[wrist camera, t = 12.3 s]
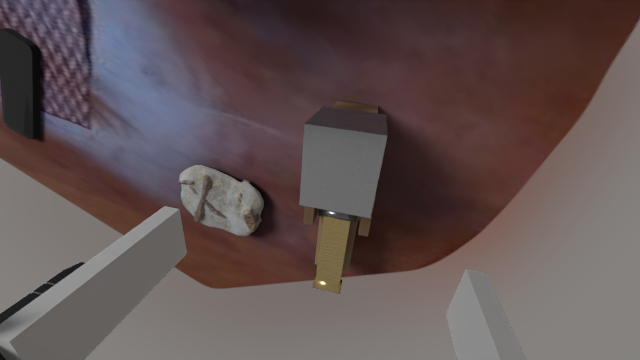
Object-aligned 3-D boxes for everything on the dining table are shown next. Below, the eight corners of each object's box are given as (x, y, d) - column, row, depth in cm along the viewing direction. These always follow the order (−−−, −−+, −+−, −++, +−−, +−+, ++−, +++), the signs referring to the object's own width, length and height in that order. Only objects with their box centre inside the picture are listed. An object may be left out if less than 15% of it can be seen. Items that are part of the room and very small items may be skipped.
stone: (187, 207, 41) (172, 219, 38) (188, 154, 37) (172, 163, 34) (260, 233, 40) (251, 248, 37) (271, 182, 36) (261, 194, 33)
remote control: (13, 25, 35) (13, 123, 41) (-5, 23, 33) (-2, 126, 39) (48, 46, 35) (42, 140, 41) (32, 45, 33) (29, 144, 40)
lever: (321, 203, 29) (312, 280, 33) (318, 209, 28) (308, 289, 32) (358, 210, 29) (344, 288, 32) (357, 217, 27) (342, 297, 31)
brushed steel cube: (317, 171, 29) (299, 205, 23) (323, 106, 26) (304, 123, 20) (373, 181, 28) (370, 218, 22) (386, 114, 25) (387, 135, 19)
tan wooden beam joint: (311, 242, 38) (297, 280, 32) (325, 98, 29) (309, 112, 23) (361, 252, 37) (357, 294, 31) (391, 107, 28) (394, 123, 22)
